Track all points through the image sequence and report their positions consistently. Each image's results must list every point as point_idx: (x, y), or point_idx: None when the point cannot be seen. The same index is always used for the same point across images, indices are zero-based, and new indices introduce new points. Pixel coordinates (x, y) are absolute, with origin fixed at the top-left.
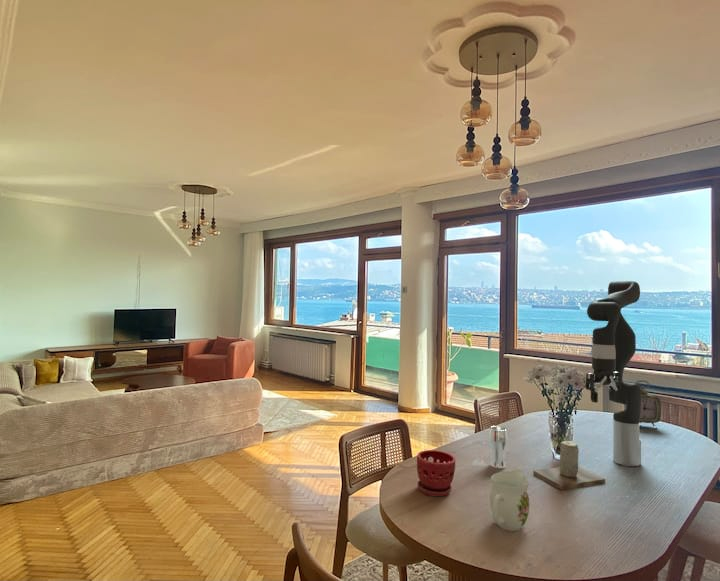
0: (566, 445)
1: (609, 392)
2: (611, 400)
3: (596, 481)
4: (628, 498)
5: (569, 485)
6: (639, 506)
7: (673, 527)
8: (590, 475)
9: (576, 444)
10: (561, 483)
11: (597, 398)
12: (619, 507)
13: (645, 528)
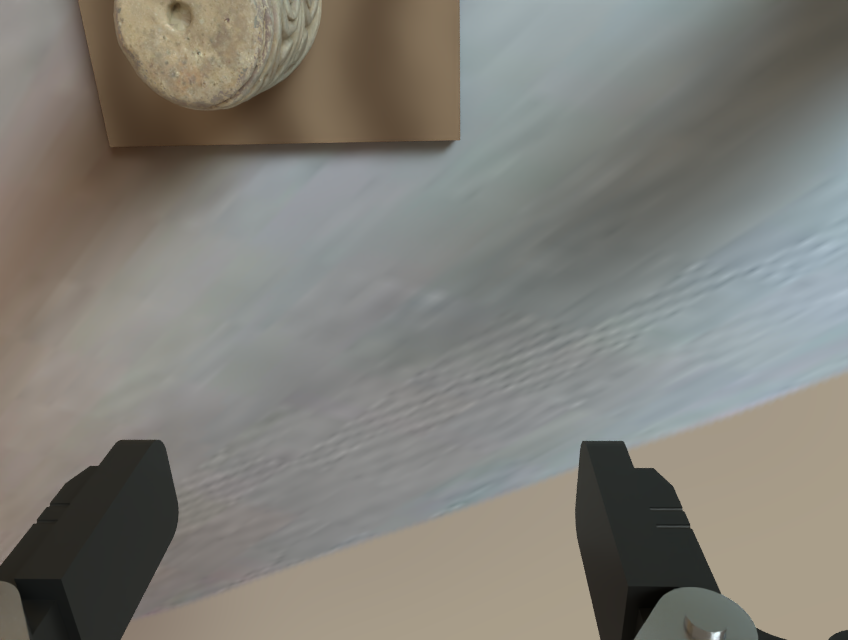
0: (132, 61)
1: (615, 544)
2: (579, 475)
3: (388, 140)
4: (417, 318)
5: (173, 144)
6: (394, 388)
7: (369, 531)
8: (411, 64)
9: (234, 81)
10: (128, 120)
11: (142, 580)
12: (291, 372)
13: (254, 510)
